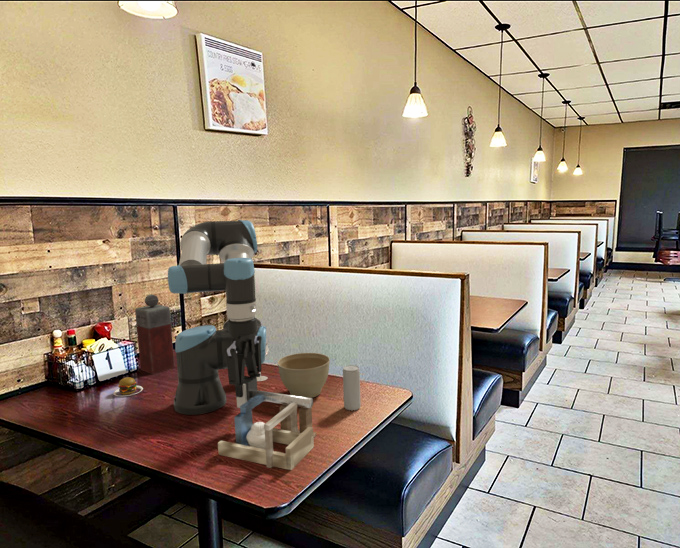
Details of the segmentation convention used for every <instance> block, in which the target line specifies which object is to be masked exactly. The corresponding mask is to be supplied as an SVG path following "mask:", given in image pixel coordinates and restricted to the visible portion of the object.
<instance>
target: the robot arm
mask: <svg viewBox="0 0 680 548" xmlns="http://www.w3.org/2000/svg"><path fill="white" fill-rule="evenodd" d="M179 243H180V244H179V246H180V247H179V248H180V250H181V253H180V257H179V263H178V265H177V264H176V265H173V266H172V265H171V266H169V267H168V269H167V285H168V289H169V291H170V293H171V294H183V295H184V294H185V295H186V294H195V293H207V292H209V293H210V292H221V291H225V298H226V303H225V304H226V305H225V306H226V317H227V320H226V321H225V322H224V323H223V325H222V329H219V330H217V328H216V326H215V325H211V324H210V325H209V324H208V325H207V324H205V325H197V326H194V327H190V328H187V329H185V330H182V331H181V332H179V333H178V334H177V335H176V337H175V342H174V343H175V348H174V352H175V355H176V356H175V357H176V370H177V379H178V381H177V387H176V391H175V394H174V395H175V397H174V399H173V409H174V411H175V412H176V413H178V414H181V415H194V416H195V415H203V414H208V413H212V412H214V411H217V410H219V409H221V408H222V407H224V406H225V405H226V403H227V395H226V392H225V390H224V387H223V385H222V383H221V380H220V375H219V370H226V369H227V375H228V376H227V377H228V384H229V385H231V386H234V388H235V389H234V390H235V398H236V397H237V399H236V408H238V409H239V408H240V406H241V405H243V404H244V403H246V402H247V392H246V384H244V376H245V368H246V371H247V375H248V376H250V377H260V374H259V372H262V369H263V368H262V364H263V363H265V360H266V357H265V351H266V343H267V326H265V325H262V322H261V320H260V319H259V318H258V317H256V316H257V304H256V303H257V302H256V301H257V300H256V299H257V298H256V281H255V280H256V279H255V273H256V272H255V271H256V270H255V266H254V260H253V258H254V256H255V254H256V253H257V252H258V240H257V233H256V229H255V226H254V223H253V222H252V221H251V220H242V219H238V220H215V221H213V220H211V221H210V220H209V221H204V222H200V223H197V224H195V225H194V226H192V227H190V228H188V229H187V230H186V231H185V232H184V233H183V235H182V237H181V239H180V241H179ZM208 256H219V258H220V260H221V261H222V262H223V263H222V262H221V263H220V262H219V263H207V258H208ZM263 365H264V364H263Z"/></svg>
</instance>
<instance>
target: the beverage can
mask: <svg viewBox="0 0 680 548" xmlns="http://www.w3.org/2000/svg"><path fill="white" fill-rule="evenodd" d="M342 369H343V370H342V383H343V384H342V386H343V387H342V388H343V408H345V410H347V411H350V410H351V411H352V412H353V410H354V411H357V410H359V409H360V408H361V407H362V406H361V402H362V401H361V376H360V375H361V372H360V370H361V369H360V367H359V365H356V364H355V365H353V364H350V365H345V366H343V368H342ZM351 411H350V412H351Z"/></svg>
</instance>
